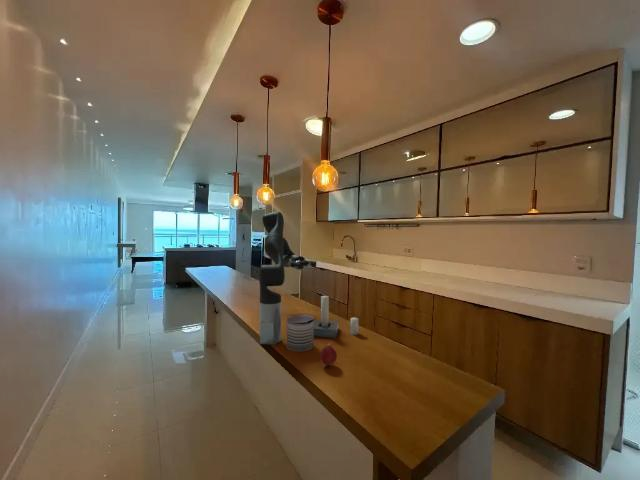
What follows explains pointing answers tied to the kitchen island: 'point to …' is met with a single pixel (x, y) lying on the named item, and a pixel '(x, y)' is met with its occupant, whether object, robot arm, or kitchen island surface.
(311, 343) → the can
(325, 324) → the long pin
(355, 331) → the short pin
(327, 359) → the onion
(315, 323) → the hole plate
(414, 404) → the kitchen island surface
